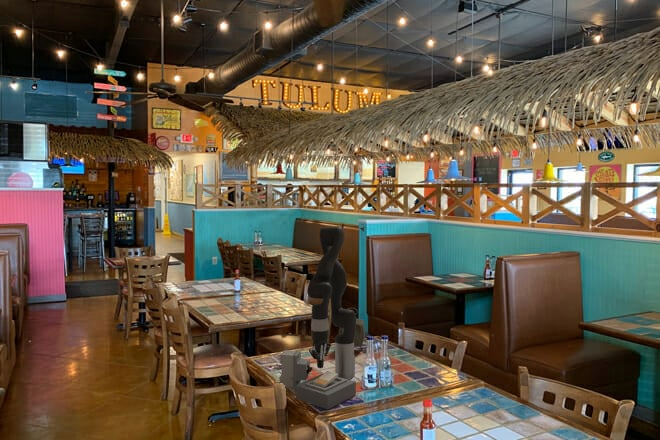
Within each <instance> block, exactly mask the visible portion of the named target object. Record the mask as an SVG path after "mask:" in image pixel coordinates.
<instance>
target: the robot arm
mask: <svg viewBox="0 0 660 440" xmlns="http://www.w3.org/2000/svg"><path fill="white" fill-rule="evenodd" d="M319 242H320V246H321V247H320V248H321V250H322V251H321V252H322V254H323V256H321V258H320V259H319V261H318V264H317V267H316V271H315V274H314V275H313V277H312V279H311V280H310V282H309V284H308V286H307V289H306V293H307V295H308V297H309V298H310V299H317V300H318V299H320V300H322V302H318V303H314V304H312V306H311V322H310V323H311V325H310V326H311V327H310V329H311V330H310V331H311V333H310V334H311V336H310V337H311V340H312V341H313V342H312V348H309V349H308V352H309V354H310V355H311V357H312V359H314V360H316V365H317V366H316V367H317V368H318V369H323V368H324V361H325V357H328V354H329V351H330V349H331V347H332V344H331V343H330V342H329V341H328V340H329V339H330V324H329V321H330V320H329V305H330V316H331V322H332V325H333V326H335V327H336V328H339V327H340V328H344V332H343V333H342V334H339V333H338V334H337V335H335V339H334V341H335V343H334V344H335V345H334V349H335V351H334V352H335V353H334V359H335V360H334V373H337V374H338V377H340V378H344V379H348V380H352V379H354V377H355V374H356V356H355V346H354V338H355V329H356V319H357V314H356V313H355V311H354V310H353V309H348V308H347V309H346V308H343V307H342V298H343V295H344V293H345V291H346V288H347V285H348V280H347V273H346V269H345V268H344V266H343V265H342V263H341V262H340V261H339V260H338V259H337V258H338V256H339V254H340V252H341V249H342V246H343V244H344V242H345V231H344V229H343V227H342V226H338V225H337V226H324V227H321V228H320V229H319ZM355 314H356V315H355Z"/></svg>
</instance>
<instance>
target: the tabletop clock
mask: <svg viewBox="0 0 660 440" xmlns="http://www.w3.org/2000/svg"><path fill="white" fill-rule="evenodd" d="M347 309H348V310H355V311H356V313H355V315H356V316H357V314H358V313H359V310H358V309H357V308H355V307H347ZM343 332H344V328H340V327H338V334H342V333H343ZM365 337H366V324H365V322H364V320H363V319H360V318H356V329H355V338H354V347H359V349H360V351H363V350H364V348H363V347H362V345H363V343H364V341H365Z"/></svg>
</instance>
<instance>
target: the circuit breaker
mask: <svg viewBox="0 0 660 440" xmlns="http://www.w3.org/2000/svg"><path fill="white" fill-rule="evenodd" d="M301 353H302V352H301V350H290V349H284V350H283V351H282V352H280V354H279V356H280V357H279V364H281V372H280V373H281V374H280V376H279V384H280V383H283V384H284V385H285V386H286V387H285V388H295V389H296V385H298V384H300V383H302V382H301V381H304V382H305V381H307V380H308V379H309V377H310V375H311V372H312V370H313V367H311V365H310V364H311V360H310V359H306V358H302V354H301Z"/></svg>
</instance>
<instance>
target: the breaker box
mask: <svg viewBox="0 0 660 440" xmlns="http://www.w3.org/2000/svg"><path fill="white" fill-rule="evenodd" d="M324 373H325V372H323V373H321V374H318V375H317V376H314V377H312V378H310V379H309V378H308V379H306V381H305V380H304V381H302V382H300V384H298V385H296V388H295V400H297V401H300V402H304V403H307V404H310V405H313V406H317V407H319V408H323V409H326V410H330V409H333V408H334V407H335V406H337V405H340V404H342V403H344V402H346V401H347V400H349V399H351V398H352V397H355V396H356V395H357V381H355V380H352V379H344V378H340V377H337V378H336V379H334V380H333V381H332V382H331V383H330V384H328V385H327V386H326V387H321V386H318V385H314V381H315V380H317V379H318V378H319V377H320V376H322V375H323V374H324Z"/></svg>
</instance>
